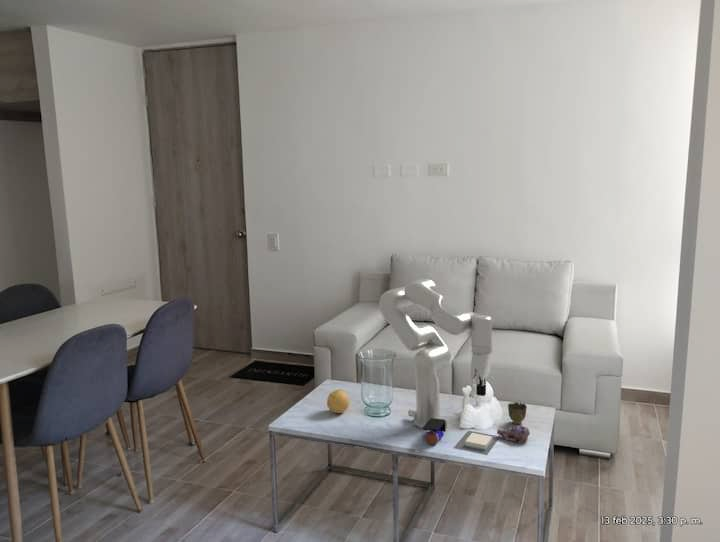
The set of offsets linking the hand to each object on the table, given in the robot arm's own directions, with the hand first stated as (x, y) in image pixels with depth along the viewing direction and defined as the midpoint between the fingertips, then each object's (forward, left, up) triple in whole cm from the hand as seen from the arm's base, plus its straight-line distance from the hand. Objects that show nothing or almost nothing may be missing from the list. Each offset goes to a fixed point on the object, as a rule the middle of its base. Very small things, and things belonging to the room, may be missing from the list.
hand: (481, 394), depth 224 cm
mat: (-1, -2, -19) cm, 19 cm away
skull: (+11, +7, -19) cm, 23 cm away
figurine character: (-17, -5, -19) cm, 26 cm away
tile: (0, +1, -18) cm, 18 cm away
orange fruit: (-65, +1, -19) cm, 68 cm away
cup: (+8, +22, -19) cm, 30 cm away
